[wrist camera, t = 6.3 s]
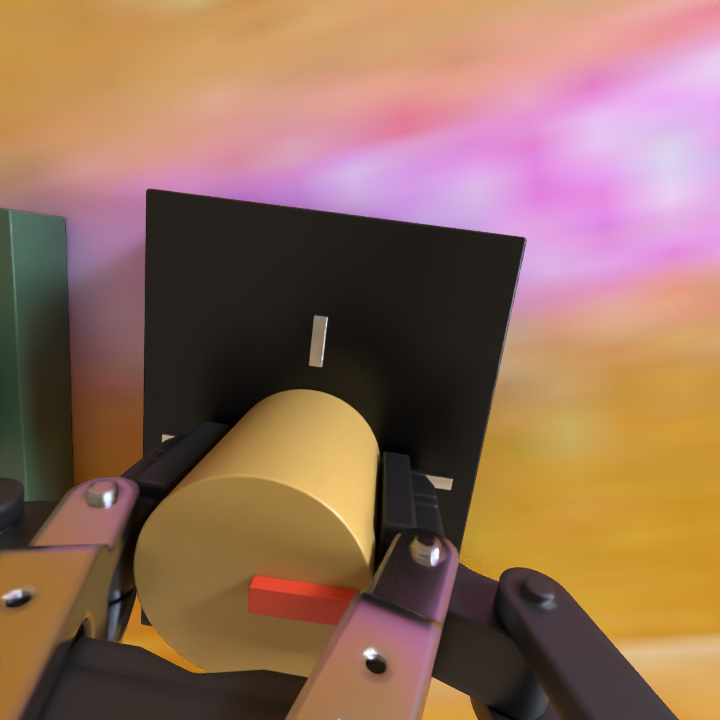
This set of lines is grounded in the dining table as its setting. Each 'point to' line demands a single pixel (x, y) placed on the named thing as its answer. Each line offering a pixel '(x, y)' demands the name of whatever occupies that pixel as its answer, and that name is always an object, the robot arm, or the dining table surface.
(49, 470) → the button block
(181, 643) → the knob
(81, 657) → the robot arm
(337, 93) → the dining table surface
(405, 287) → the panel
